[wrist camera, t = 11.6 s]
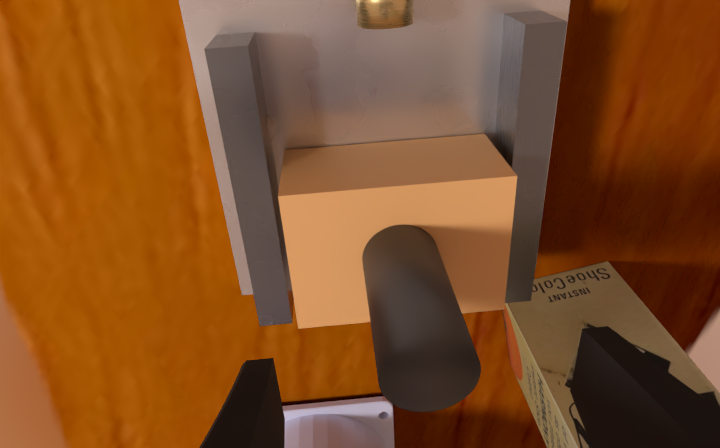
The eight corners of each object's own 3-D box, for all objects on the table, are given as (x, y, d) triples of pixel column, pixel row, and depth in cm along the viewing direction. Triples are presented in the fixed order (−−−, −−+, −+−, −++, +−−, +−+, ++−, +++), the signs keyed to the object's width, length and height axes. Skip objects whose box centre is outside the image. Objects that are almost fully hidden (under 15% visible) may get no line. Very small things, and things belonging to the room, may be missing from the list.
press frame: (523, 248, 23) (570, 325, 19) (246, 273, 23) (229, 357, 18) (604, -467, 13) (752, -662, 8) (99, -444, 12) (-17, -637, 8)
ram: (477, 252, 21) (563, 432, 14) (300, 268, 21) (292, 460, 14) (484, 133, 19) (594, 275, 11) (284, 150, 18) (262, 306, 11)
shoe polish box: (499, 287, 24) (637, 567, 14) (607, 261, 24) (832, 526, 13) (510, 363, 27) (634, 649, 16) (608, 340, 26) (799, 616, 16)
